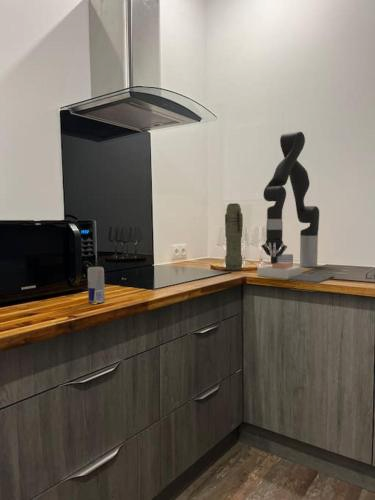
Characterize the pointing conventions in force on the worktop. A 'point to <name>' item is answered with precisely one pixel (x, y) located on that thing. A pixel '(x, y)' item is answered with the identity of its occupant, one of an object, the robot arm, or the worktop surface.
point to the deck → (279, 271)
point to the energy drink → (96, 285)
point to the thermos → (233, 237)
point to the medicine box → (285, 258)
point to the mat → (310, 278)
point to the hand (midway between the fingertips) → (274, 264)
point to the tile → (282, 265)
